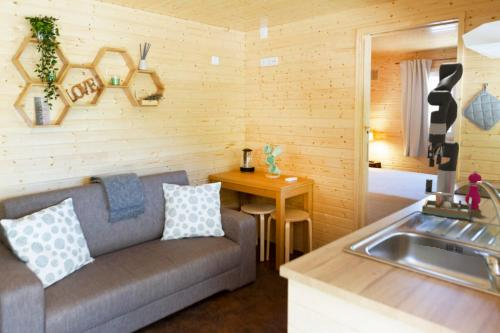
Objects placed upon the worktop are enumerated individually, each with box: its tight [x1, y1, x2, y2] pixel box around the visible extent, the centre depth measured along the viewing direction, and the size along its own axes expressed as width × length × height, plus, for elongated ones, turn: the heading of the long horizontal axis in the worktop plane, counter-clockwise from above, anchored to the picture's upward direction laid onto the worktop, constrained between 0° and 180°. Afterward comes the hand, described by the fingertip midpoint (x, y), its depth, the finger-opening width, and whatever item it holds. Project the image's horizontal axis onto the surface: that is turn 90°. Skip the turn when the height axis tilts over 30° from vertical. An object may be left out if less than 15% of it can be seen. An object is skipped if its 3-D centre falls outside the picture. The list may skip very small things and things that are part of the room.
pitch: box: [421, 197, 472, 220], centre depth 207 cm, size 16×21×8 cm
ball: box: [443, 201, 452, 209], centre depth 207 cm, size 4×4×4 cm
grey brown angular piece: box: [424, 178, 453, 208], centre depth 208 cm, size 6×13×14 cm, turn 61°
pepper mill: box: [464, 170, 482, 211], centre depth 214 cm, size 7×7×20 cm
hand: (435, 165), depth 203 cm, fingers open, 8 cm apart
